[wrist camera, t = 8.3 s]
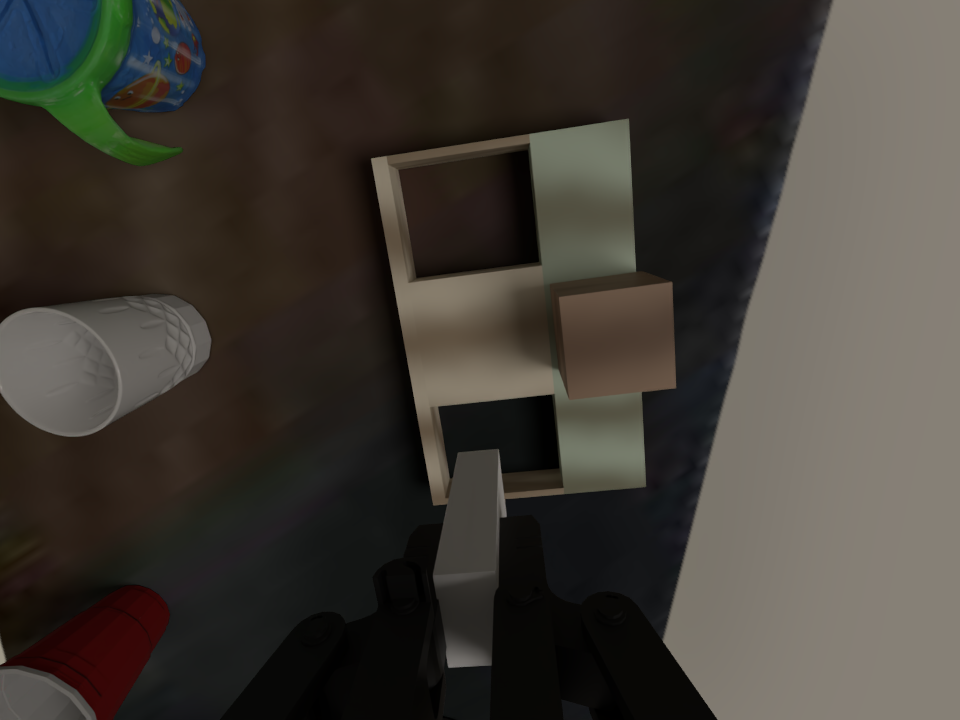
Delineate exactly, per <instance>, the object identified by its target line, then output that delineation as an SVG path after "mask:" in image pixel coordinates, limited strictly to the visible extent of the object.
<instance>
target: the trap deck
mask: <svg viewBox="0 0 960 720" xmlns="http://www.w3.org/2000/svg"><path fill="white" fill-rule="evenodd" d="M525 150H528V155H529V165H530V175H531V185H532V195H533V205H534V215H535V225H536V235H537V246H538V256H539V262H536V263H528V264H520V265H513V266H505V267H497V268H490V269H482V270H474V271H467V272H459V273H451V274H444V275H436V276H428V277H421V278H416V273H415V267H414V261H413V255H412V249H411V243H410V237H409V231H408V225H407V219H406V213H405V207H404V201H403V195H402V189H401V183H400V177H399V171H398V170H399V169H406V168H413V167H419V166H426V165H432V164H439V163H446V162H452V161H459V160H466V159H472V158H479V157H485V156H492V155H499V154H505V153H512V152H518V151H525ZM371 161H372V167H373V172H374V178H375V184H376V189H377V195H378V200H379V206H380V211H381V217H382V222H383V228H384V234H385V239H386V245H387V250H388V256H389V261H390V267H391V272H392V278H393V284H394V289H395V295H396V300H397V306H398V311H399V317H400V322H401V328H402V334H403V339H404V345H405V350H406V356H407V361H408V367H409V372H410V378H411V383H412V389H413V395H414V400H415V406H416V411H417V417H418V422H419V428H420V433H421V439H422V445H423V450H424V456H425V461H426V467H427V472H428V478H429V483H430V489H431V495H432V500H433V505H443V504H448V499H449V494H450V489H451V485H452V480H453V478H450V477H449V471H448V465H447V459H446V453H445V447H444V441H443V435H442V429H441V423H440V417H439V411H438V406H446V405H455V404H465V403H474V402H483V401H493V400H502V399H512V398H521V397H531V396H540V395H550V394H552V397H553V407H554V417H555V427H556V438H557V448H558V458H559V469H548V470H537V471H526V472H515V473H504V474H502V482H503V490H504V498H505V499H512V498H523V497H535V496H546V495H558V494H569V493H581V492H592V491H604V490H615V489H627V488H638V487H646V478H645V456H644V435H643V413H642V392H636V393H628V394H619V395H610V396H601V397H592V398H583V399H575V400H569V398H568V395H567V393H566V390H565V387H564V384H563V381H562V378H561V375H560V372H559V369H558V359H557V350H556V340H555V331H554V321H553V311H552V302H551V292H550V284H552V283H559V282H567V281H574V280H581V279H589V278H596V277H603V276H611V275H618V274H626V273H633V272H636V264H635V242H634V221H633V200H632V178H631V157H630V135H629V119H624V120H617V121H611V122H605V123H598V124H592V125H585V126H579V127H572V128H566V129H559V130H553V131H546V132H540V133H533V134H527V135H520V136H514V137H507V138H501V139H494V140H488V141H481V142H475V143H468V144H462V145H456V146H449V147H443V148H436V149H430V150H423V151H417V152H410V153H404V154H397V155H391V156H384V157H378V158H371Z"/></svg>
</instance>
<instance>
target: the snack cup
mask: <svg viewBox="0 0 960 720" xmlns="http://www.w3.org/2000/svg"><path fill="white" fill-rule="evenodd" d="M204 68H205V54H204V52H203V48H202V45H201V36H200V33H199V31H198V29H197V27H196V25H195V23H194V21H193V19H192V18H191V16H190V15H189V14H188V12H187V11H186V9H185V8H184V6H183V4H182V3H181V2H180V0H0V97H2V98H5V99H8V100H11V101H15V102H19V103H22V104H28V105H33V106H40V107H43V108H44V109H46V110H47V111H48V112H49V113H51V114H52V115H53V116H54V117H55V118H56V119H57V120H58V121H59V122H61V123H62V124H63V125H64V126H66V127H67V128H68V129H69V130H70V131H72V132H73V133H75V134H76V135H77V136H79V137H80V138H81V139H83V140H84V141H86V142H87V143H89V144H90V145H92V146H94V147H95V148H97V149H99V150H101V151H102V152H104V153H106V154H108V155H110V156H112V157H115V158H117V159H119V160H122V161H124V162H126V163H129V164H132V165H137V166H145V165H151V164H154V163H157V162H160V161H163V160H166V159H169V158H171V157H173V156H176V155H178V154H180V153H182V152H183V149H182V148H181V147H174V148H170V147H167V146H163V145H159V144H155V143H151V142H148V141H144V140H140V139H137V138H132V137H129V136H127V135H126V133H125V132H124V131H123V130H122V129H121V128H120V127H119V126H118V125H117V124H116V122H115V121H114V120H113V119H112V117H111V116H110V115H109V113H108V111H107V110H106V108H107V109H120V110H132V111H138V112H166V111H175V110H177V109H178V108H179V107H181V106H183V103H184V102H186V101H187V100H188V99H189V97H190V96H191V95H192V94H193V93H194V92H195V90H196V89H197V87H198V85H199V83H200V80H201V74H202V71H203V69H204Z"/></svg>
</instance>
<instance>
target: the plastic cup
mask: <svg viewBox="0 0 960 720" xmlns="http://www.w3.org/2000/svg"><path fill="white" fill-rule="evenodd" d="M169 616H170V613H169V610H168V607H167V604H166V603H165V602H164V600H163V599H162V598H161V597H160V595H158V594H157V593H155V592H154V591H152V590H151V589H149V588H145V587H142V586H139V585H129V586H125V587H122V588H120V589H118V590H116V591H114V592H112V593H110V594H109V595H107V596H106V597H104V598H103V599H102V600H100V601H99V602H97V603H96V604H94V605H93V606H92V607H90V608H89V609H87V610H85V611H83V612H81V613H80V614H78V615H77V616H75V617H74V618H72V619H71V620H69V621H68V622H66V623H65V624H63V625H62V626H60V627H59V628H57V629H56V630H54V631H53V632H52V633H50V634H49V635H47V636H46V637H44V638H43V639H41V640H40V641H38V642H37V643H35V644H34V645H32V646H31V647H29V648H28V649H26V650H25V651H23V652H22V653H21V654H19V655H17V656H15V657H13V658H11V659H10V660H8V661H7V662H5V663H3V664H1V665H0V720H113V718H114V716H115V714H116V712H117V711H118V709H119V707H120V706H121V704H122V703H123V701H124V699H125V698H126V696H127V694H128V693H129V691H130V689H131V688H132V686H133V684H134V683H135V681H136V679H137V678H138V676H139V674H140V673H141V671H142V669H143V668H144V666H145V665H146V663H147V661H148V660H149V658H150V655H151V652H152V651H153V649H154V648H155V646H156V644H157V643H158V641H159V640H160V638H161V636H162V635H163V633H164V632H165V630H166V626H167V625H168V622H169Z"/></svg>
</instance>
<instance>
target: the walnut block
mask: <svg viewBox="0 0 960 720" xmlns="http://www.w3.org/2000/svg"><path fill="white" fill-rule="evenodd" d="M550 292H551V302H552V311H553V321H554V331H555V340H556V350H557V359H558V369H559V372H560V375H561V378H562V381H563V384H564V387H565V390H566V393H567V395H568V398H569V400H575V399H583V398H592V397H601V396H610V395H619V394H628V393H636V392H645V391H654V390H663V389H672V388H676V375H675V347H674V320H673V293H672V282H671V281H668V280H665V279H662V278H659V277H656V276H654V275H651V274H648V273H645V272H642V271H640V272H633V273H626V274H618V275H611V276H603V277H596V278H589V279H581V280H574V281H567V282H559V283H552V284H550Z"/></svg>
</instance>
